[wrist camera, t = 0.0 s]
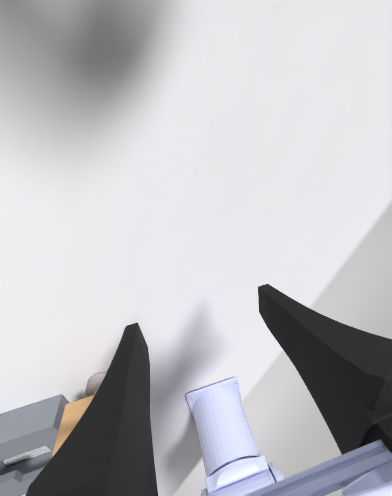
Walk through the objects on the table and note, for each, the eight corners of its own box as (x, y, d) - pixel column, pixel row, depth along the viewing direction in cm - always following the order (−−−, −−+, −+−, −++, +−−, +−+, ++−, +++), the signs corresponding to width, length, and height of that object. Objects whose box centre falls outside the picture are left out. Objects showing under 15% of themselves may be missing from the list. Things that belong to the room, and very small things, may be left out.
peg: (128, 385, 30) (126, 458, 23) (90, 398, 29) (76, 476, 22) (115, 362, 27) (108, 436, 21) (73, 375, 27) (51, 456, 20)
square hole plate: (99, 438, 33) (95, 468, 30) (4, 472, 32) (-10, 506, 29) (61, 394, 27) (52, 425, 24) (-57, 432, 26) (-82, 471, 23)
